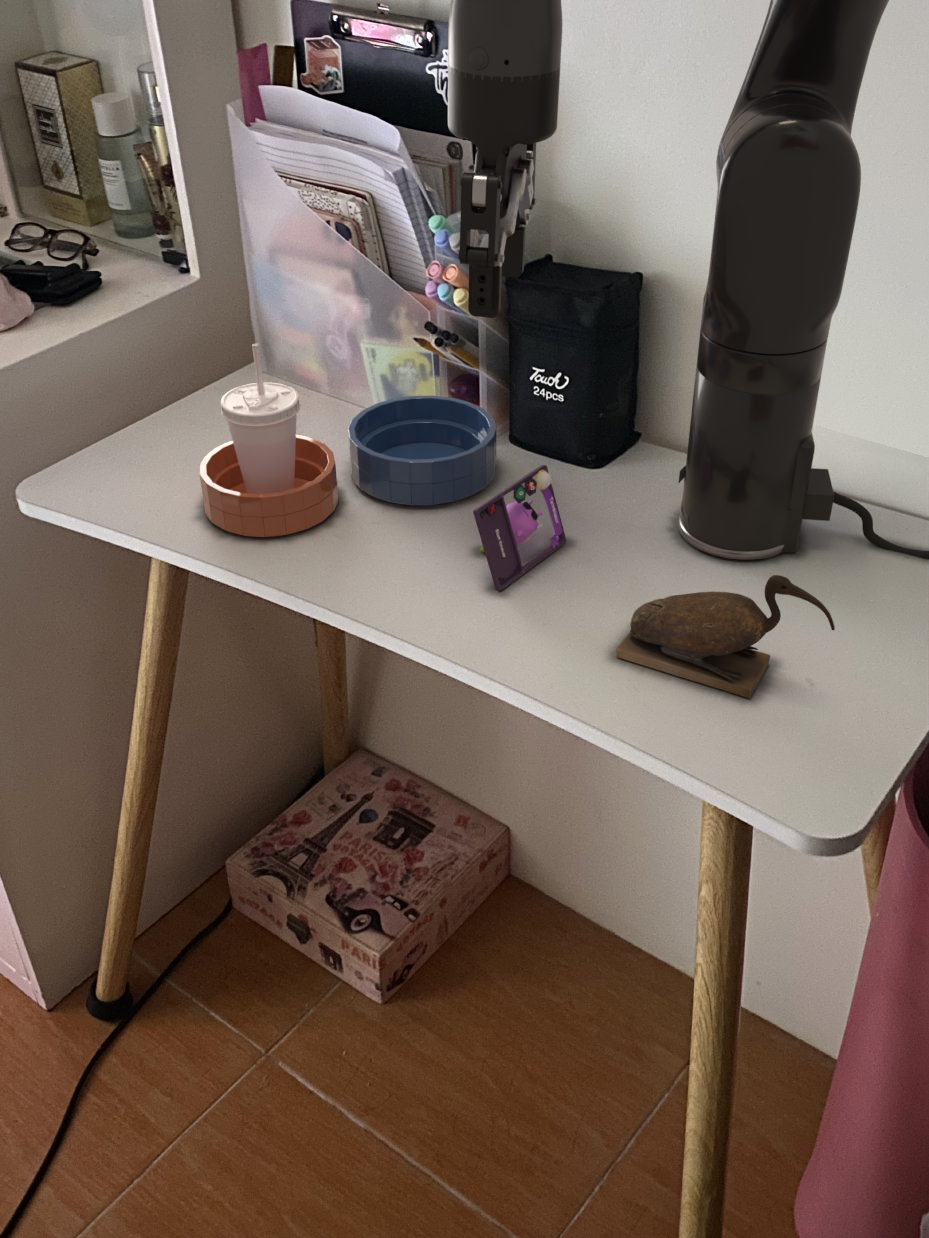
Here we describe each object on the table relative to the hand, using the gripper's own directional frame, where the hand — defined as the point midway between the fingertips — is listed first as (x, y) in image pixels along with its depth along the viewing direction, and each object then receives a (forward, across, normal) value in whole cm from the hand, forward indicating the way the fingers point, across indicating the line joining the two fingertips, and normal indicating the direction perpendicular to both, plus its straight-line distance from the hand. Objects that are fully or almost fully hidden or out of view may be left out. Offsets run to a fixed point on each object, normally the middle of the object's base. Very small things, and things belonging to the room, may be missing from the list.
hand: (497, 294), depth 91 cm
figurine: (+19, -17, -20) cm, 32 cm away
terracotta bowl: (+20, -2, +19) cm, 27 cm away
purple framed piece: (+20, -6, -3) cm, 20 cm away
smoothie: (+20, -2, +19) cm, 27 cm away
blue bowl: (+20, +6, +8) cm, 22 cm away
